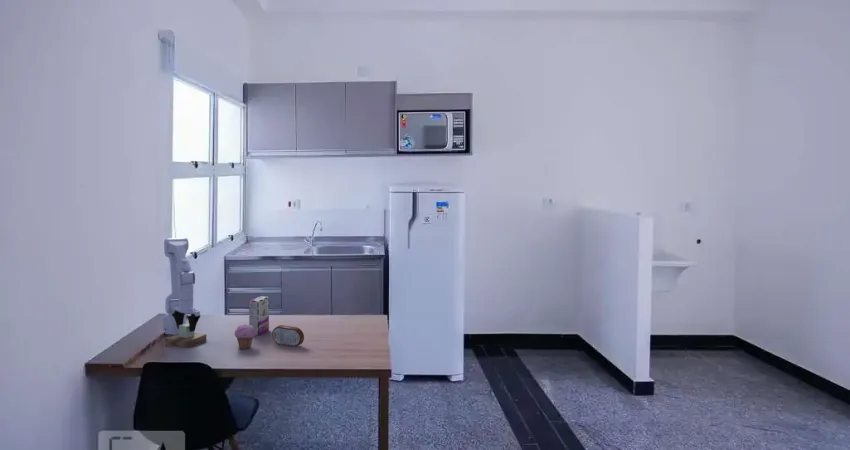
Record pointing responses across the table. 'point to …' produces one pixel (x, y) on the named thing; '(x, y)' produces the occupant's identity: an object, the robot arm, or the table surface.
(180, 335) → the sage block
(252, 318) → the candy bar box
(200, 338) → the brown flat block
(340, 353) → the table surface
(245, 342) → the cupcake
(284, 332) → the tin
